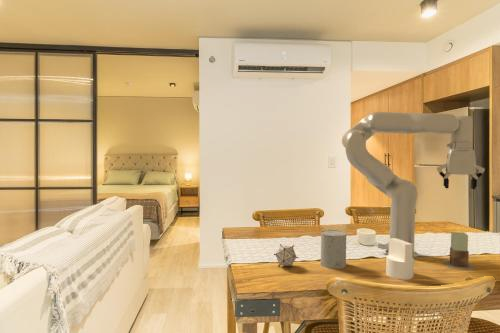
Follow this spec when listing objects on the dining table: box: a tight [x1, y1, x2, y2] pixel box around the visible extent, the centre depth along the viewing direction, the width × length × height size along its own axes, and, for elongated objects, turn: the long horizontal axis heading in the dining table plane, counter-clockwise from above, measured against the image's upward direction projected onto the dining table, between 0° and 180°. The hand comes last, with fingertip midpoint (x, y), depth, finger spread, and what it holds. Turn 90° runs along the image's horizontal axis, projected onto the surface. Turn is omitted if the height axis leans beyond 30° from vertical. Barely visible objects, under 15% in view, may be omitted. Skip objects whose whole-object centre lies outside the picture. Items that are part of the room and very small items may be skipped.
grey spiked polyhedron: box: [273, 243, 299, 269], centre depth 134 cm, size 9×8×10 cm
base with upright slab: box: [385, 237, 415, 281], centre depth 125 cm, size 9×9×12 cm
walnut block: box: [449, 246, 470, 267], centre depth 136 cm, size 5×5×6 cm
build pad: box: [442, 260, 477, 271], centre depth 136 cm, size 9×9×1 cm
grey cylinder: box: [320, 229, 348, 270], centre depth 136 cm, size 10×10×12 cm
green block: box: [450, 231, 469, 251], centre depth 135 cm, size 4×4×6 cm
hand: (459, 188), depth 146 cm, fingers open, 9 cm apart
